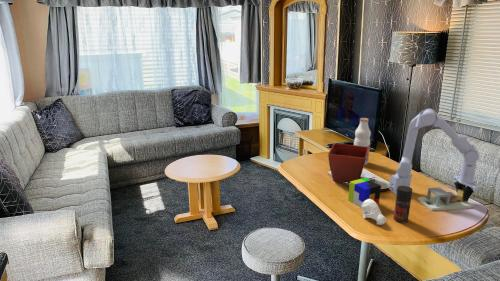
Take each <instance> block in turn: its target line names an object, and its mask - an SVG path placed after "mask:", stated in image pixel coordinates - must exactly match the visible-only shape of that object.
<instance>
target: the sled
mask: <svg viewBox="0 0 500 281" xmlns="http://www.w3.org/2000/svg"><path fill="white" fill-rule="evenodd" d="M447 192H448V193H449V194H451V195H450V201H449V203H456V202H457V201H461V202H468V201H463V189H458V192H457V191H456V194H455V193H454V192H452V191H447ZM446 198H447V197H440V200H441V201H443V202H444V203H446Z"/></svg>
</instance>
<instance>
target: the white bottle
mask: <svg viewBox="0 0 500 281" xmlns="http://www.w3.org/2000/svg"><path fill="white" fill-rule="evenodd" d="M354 135H355V138H354V141H353V145H354V146H363V147H368V148H369V149H368V153H367V157H366V161H365V164H364V166H367V165H368V163H369V158H370V157H369V156H370V148H371V139H370V138H371V136H372V131H371V129H370V127H369V118H366V117H361V118H359V125H358V127H356V129H355V132H354Z"/></svg>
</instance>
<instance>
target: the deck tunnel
mask: <svg viewBox="0 0 500 281" xmlns="http://www.w3.org/2000/svg"><path fill="white" fill-rule="evenodd" d="M448 192H449V191H446V190H444V189H443V188H441V187H440V186H439V187H438V186H437V187H428V188H427V194H426V196H423V197H418V198H417V201H418V202H420V203H421V204H422V205H423V206H425V207H426V208H428V210H430V211H431V212H432V211H433V212H435V211H446V210H458V209H461V210H462V209H471V208H474V204H473V203H470V202H469V201H467V202H461V201H457V202H456V203H449V201H450V195H451V194H449V193H448ZM431 194H433V195H434V196H431ZM440 197H447V198H446V203H444V202H443V201H441V200H440Z"/></svg>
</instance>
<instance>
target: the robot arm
mask: <svg viewBox="0 0 500 281" xmlns="http://www.w3.org/2000/svg"><path fill="white" fill-rule="evenodd" d="M430 126H432V127H435V128H440V129H441V130H442V132H444V133H445V134H446V135H447V136H448V138H450V139H451V144H452V146H454V147H455V148H456V149H457V150H458V152H459V153H461V154H463V161H462V163H461V168H460V173H459V175H458V174H454V175H453V178H452V179H453V180H456V181H455V182H454V183H453V184H454V186H455V188H456V193H457V192H458V189H463V201H467V202H469V199H470V197H471V196H472V195H473V194H474V192H479V189H480V188H479V187H480V186H478V185H477V184H476V183H475V182H476V181H475V180H474V179H475V175H476V174H475V173H476V170H477V163H478V160H479V158H480V157H479V156H480V155H479V151H478V149H477V146H474V144H471V143H470V141H469V140H468V138H467V136H466V135H462V134H458V133H457V132H456V131H455V130H454V129H453V128H452V126H451V125H449V123H448V122H447V121H446V120H445V118H443V117H442V115H440V114H439V112H438V113H437V112H436V110H434V109H433V108H426V109H423V110H421V111H420V112H419V113H418V114H417V115H415V117H414V118H413V119H411V121H410V123H409V124H408V129H407V135H406V137H405V138H406V139H405V144H404V148H403V152H402V156H401V160H400V161H399V163H398V167H397V169H396V173H395V174H392V175H391V176H390V177H389V183H388V184H389V185H388V187H389V189H388V190H390V191H391V192H392V193H393V194H394V195H397V188H398V186H408V187H410V188H411V183H412V182H411V181H412V175H413V174H412V168H413V163H412V161H413V157H414V156H413V155H414V151H415V146H416V142H417V137H418V134H419V129H421V128H424V127H430ZM413 193H414V192H413V191H412V195H413Z"/></svg>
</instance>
